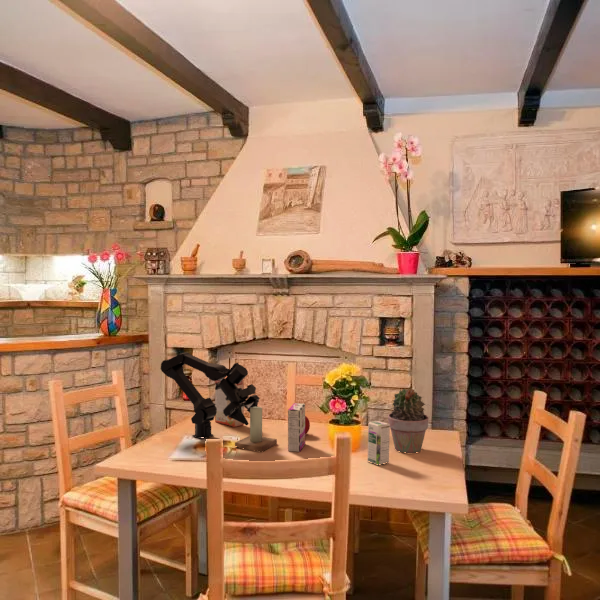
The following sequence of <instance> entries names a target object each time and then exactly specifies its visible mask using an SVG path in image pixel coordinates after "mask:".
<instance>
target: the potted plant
mask: <svg viewBox="0 0 600 600" xmlns="http://www.w3.org/2000/svg"><path fill="white" fill-rule="evenodd" d="M398 391H399V392H398V393H394V395H393V396H394V399H393V400H392V401H391V404H389V405H388V407H390V406H393V407H391V408H390V410H392V411H391V412H390V413H389V414H388V415H387V422H388V423H387V424H390V433H391V437H392V441H393V445H394V450H395V449H396V450H397V451H400V452H406V453H416V452H419V451H420V452H421V451H422V447H423V443H424V440H425V435H426V432H427V431H426V430H428V428H429V418H430V417H429V416H428V415H427V414H425V408H424V406H427V407H428V406H431V405H430V404H426V403H425V402H423V400H422V398H423V396H421V395H419V394H418V393H417V392H416V391H415V389H412V388H409V389H406V388H403V389H402V390H398ZM431 407H432V406H431ZM396 450H395V451H396ZM397 451H396V452H397ZM400 452H399V453H400ZM420 452H419V453H420ZM416 454H417V453H416Z"/></svg>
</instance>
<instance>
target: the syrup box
mask: <svg viewBox="0 0 600 600" xmlns="http://www.w3.org/2000/svg"><path fill="white" fill-rule="evenodd" d="M367 427H368V429H367V462H368V461H370V462H372V463H375V464H378V465H379V464H383V463H386V462H389V463H390V433H391V429H390V424H388V423H387V422H384V421H381V420H380V421H379V420H375V421H370V422H368V425H367ZM372 463H371V464H372Z"/></svg>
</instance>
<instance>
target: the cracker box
mask: <svg viewBox="0 0 600 600" xmlns="http://www.w3.org/2000/svg"><path fill="white" fill-rule="evenodd" d="M226 377H227V376H226ZM226 377H225V378H226ZM225 378H224V379H225ZM221 380H222V379H220V380H217V381H214V382H215V384H214V386H215V387H216V383H218V382H220V381H221ZM235 385H236V386H237V387H238V388H242V390H243V389H245V380H244V379H243V380H242V381H241V382H240V383H239V384H235ZM214 391H215V393H214V396H215V397H214V399H215V400H214V404H216V405H215V406H216V408H217V413H216V415H215V417H214V422H215V423H218V424H223V425H226V426H230V427H233V428H235V427H239V426H244V425H245V424H243V423H241V422H239V421H237V420H235V419H233V418H231V417H230V418H229V416H227V417H226V416H225V415H224V413H223V410H224V409H225V408H226V407H227V406H228V404H229V403H231V402H230V401H229V400H226V399H225V398H226V395H225V394H224V393H223V391H222V390H221V389H218V390H214ZM241 409H242V413H243V415H244V416H245V407H241Z"/></svg>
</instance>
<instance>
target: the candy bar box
mask: <svg viewBox="0 0 600 600" xmlns="http://www.w3.org/2000/svg"><path fill="white" fill-rule="evenodd" d="M305 416H306V403H301V402H300V403H299V402H298V403H297V402H294V403H292V405H291V406H290V407H289V408H288V409H287V441H288V442H287V449H288V452H293V453H300V452H301V450H303V448H304V447H305V445H306V435H305Z"/></svg>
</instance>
